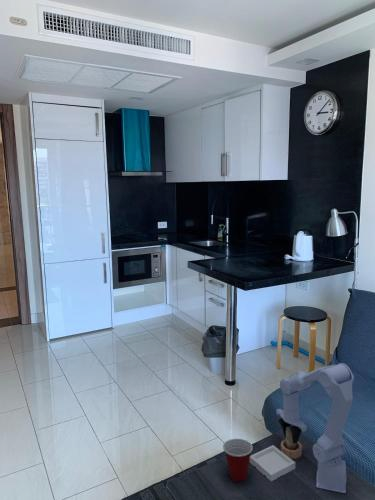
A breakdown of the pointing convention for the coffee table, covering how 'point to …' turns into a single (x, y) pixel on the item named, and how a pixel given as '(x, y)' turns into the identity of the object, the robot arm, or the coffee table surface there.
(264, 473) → the grey tray
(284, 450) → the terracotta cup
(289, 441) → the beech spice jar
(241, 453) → the plastic cup
